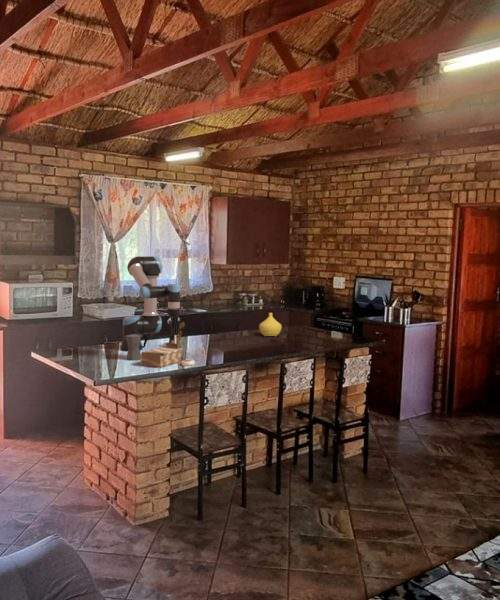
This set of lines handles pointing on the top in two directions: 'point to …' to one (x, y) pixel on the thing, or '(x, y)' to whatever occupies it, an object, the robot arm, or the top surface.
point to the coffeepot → (134, 345)
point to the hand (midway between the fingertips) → (173, 345)
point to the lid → (166, 349)
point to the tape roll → (187, 362)
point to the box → (160, 359)
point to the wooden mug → (178, 334)
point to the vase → (270, 326)
